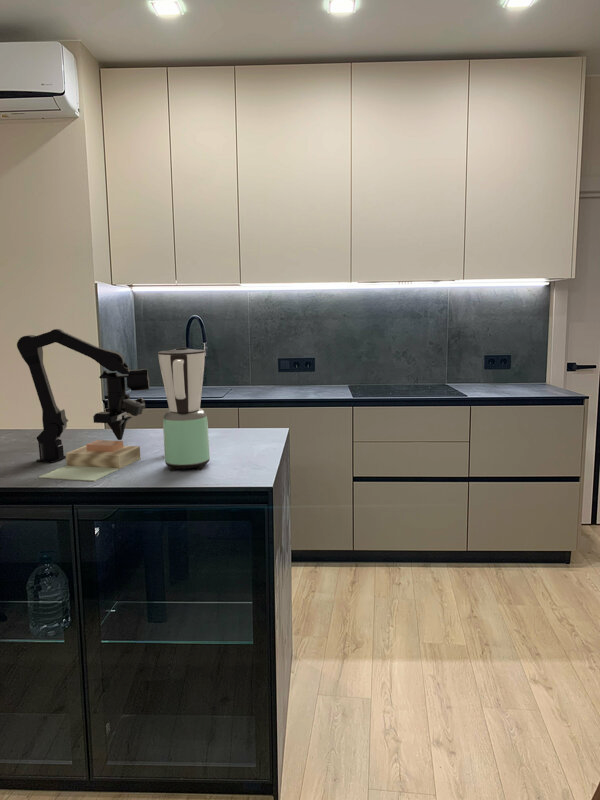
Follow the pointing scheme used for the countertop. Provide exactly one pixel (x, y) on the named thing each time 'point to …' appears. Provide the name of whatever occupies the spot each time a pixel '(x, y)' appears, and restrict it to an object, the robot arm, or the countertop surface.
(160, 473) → the countertop surface
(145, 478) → the countertop surface
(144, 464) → the countertop surface
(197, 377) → the mint green blender
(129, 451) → the tan wooden flat block
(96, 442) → the tile
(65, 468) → the mat
